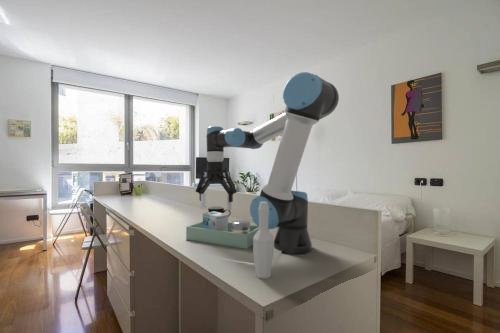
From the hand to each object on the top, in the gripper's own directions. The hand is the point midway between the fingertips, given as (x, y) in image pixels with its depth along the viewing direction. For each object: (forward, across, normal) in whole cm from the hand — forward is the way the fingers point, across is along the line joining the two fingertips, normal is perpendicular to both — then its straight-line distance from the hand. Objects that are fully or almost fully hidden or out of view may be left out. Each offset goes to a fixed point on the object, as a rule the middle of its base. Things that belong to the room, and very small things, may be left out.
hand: (215, 208), depth 115 cm
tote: (+14, -4, 0) cm, 14 cm away
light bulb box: (+13, +1, 0) cm, 13 cm away
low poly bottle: (+15, -33, +26) cm, 45 cm away
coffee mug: (+13, +12, -21) cm, 28 cm away
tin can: (+13, -12, 0) cm, 18 cm away
